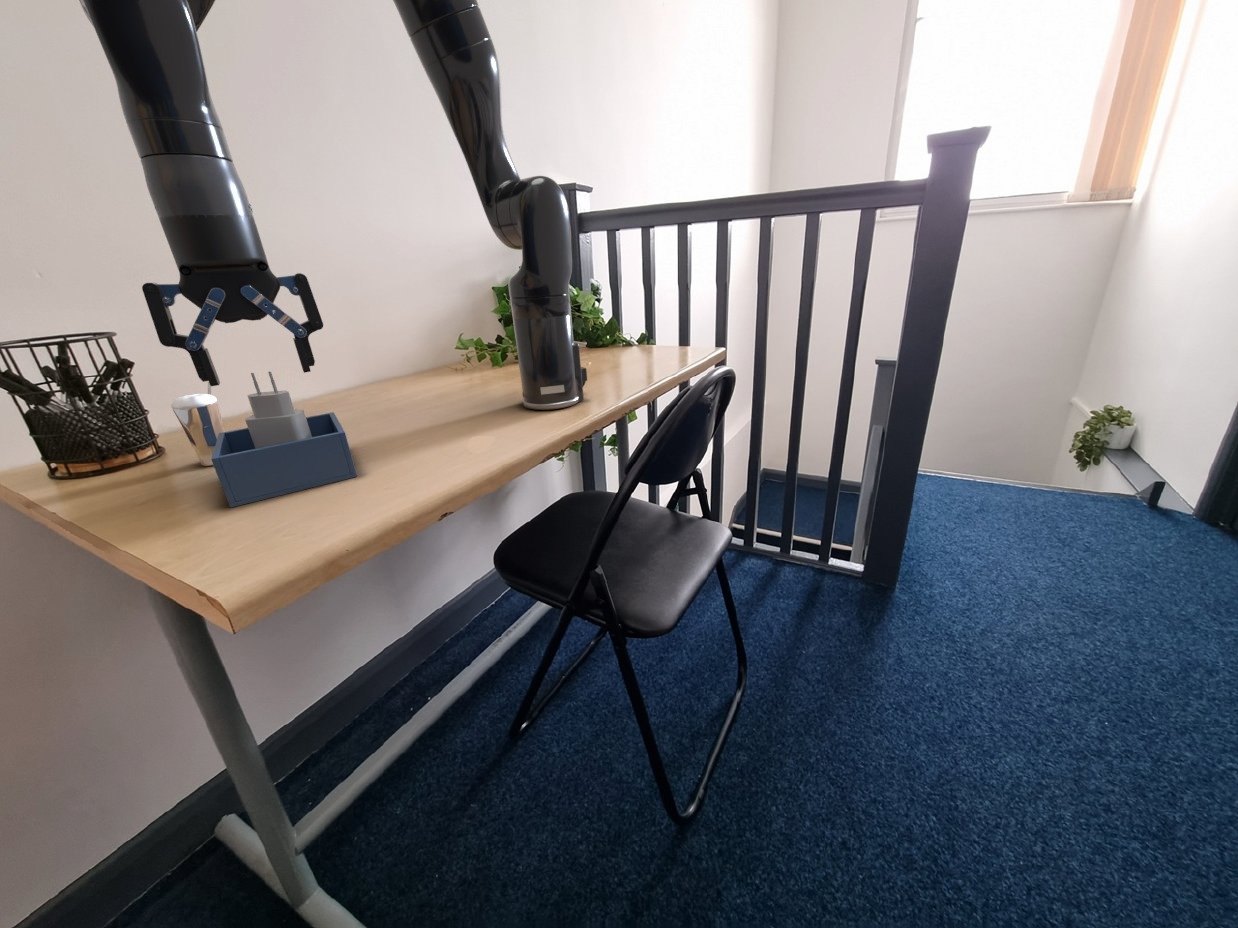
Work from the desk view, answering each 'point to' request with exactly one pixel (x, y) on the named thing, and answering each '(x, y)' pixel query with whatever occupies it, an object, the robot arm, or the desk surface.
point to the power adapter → (275, 418)
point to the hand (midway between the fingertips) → (263, 377)
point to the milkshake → (200, 422)
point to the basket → (282, 462)
